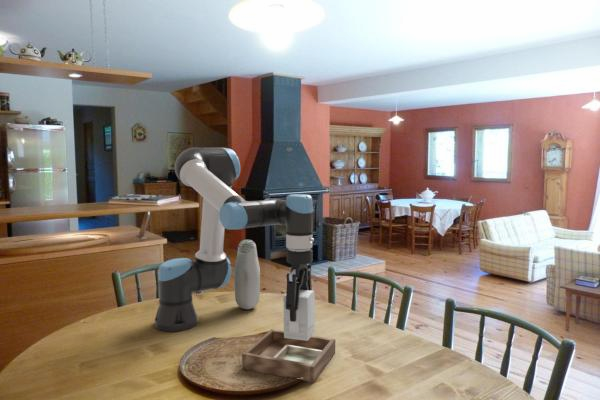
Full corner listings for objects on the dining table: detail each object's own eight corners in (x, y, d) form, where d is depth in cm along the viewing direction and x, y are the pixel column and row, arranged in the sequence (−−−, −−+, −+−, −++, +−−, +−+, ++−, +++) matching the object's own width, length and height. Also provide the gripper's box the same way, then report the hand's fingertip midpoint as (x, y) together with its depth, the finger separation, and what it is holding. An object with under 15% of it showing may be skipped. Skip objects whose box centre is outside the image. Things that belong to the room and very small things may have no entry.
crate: (242, 368, 132) (242, 353, 131) (271, 342, 150) (271, 329, 150) (313, 382, 124) (314, 366, 123) (335, 353, 142) (335, 339, 142)
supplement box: (315, 332, 134) (315, 290, 133) (307, 341, 127) (307, 297, 126) (291, 328, 137) (291, 287, 136) (282, 338, 130) (282, 295, 129)
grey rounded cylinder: (233, 305, 187) (232, 238, 184) (258, 303, 190) (257, 237, 187) (236, 313, 178) (235, 242, 175) (262, 311, 180) (261, 241, 177)
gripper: (298, 257, 119) (298, 341, 121) (323, 243, 138) (322, 316, 140) (272, 254, 122) (272, 337, 124) (300, 241, 140) (299, 313, 143)
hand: (299, 326), depth 132 cm, fingers closed on supplement box, 7 cm apart
